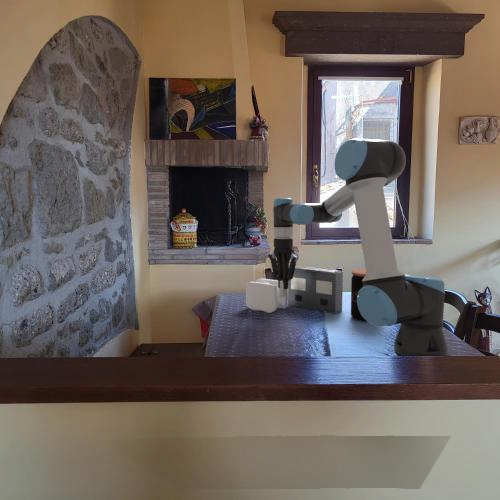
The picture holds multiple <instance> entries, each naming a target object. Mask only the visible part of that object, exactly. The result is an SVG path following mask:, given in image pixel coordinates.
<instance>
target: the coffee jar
mask: <svg viewBox="0 0 500 500" xmlns="http://www.w3.org/2000/svg"><path fill="white" fill-rule="evenodd" d="M351 274H352V276H351V279H350V281H351V283H350V286H351V287H350V290H351V291H350V316H351V318H352V319H353V320H355V321H358V322H364V323H368V322H367V320H365V319H364V318H363V316H362V315H361V313H360V311H359V308H358V305H357V295H359V294H358V292H359V290H360V289H361V288H362V287H363V282H362V280H363V279H364V277H365V276H366V274H367V273H366V268H365V269H362V268H359V269H353V270H352V271H351Z"/></svg>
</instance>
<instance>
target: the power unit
mask: <svg viewBox="0 0 500 500" xmlns="http://www.w3.org/2000/svg"><path fill="white" fill-rule="evenodd" d="M343 273H344V271H343V270H342V271H341V270H339V269H338V270H337V269H331V268H330V269H328V268H320V267H310V266H303V265H302V266H301V265H296V266H295V270H294V275H293V279H291V280H289V281H288V289H287V306H288V307H289V306H290V307H295V308H300V309H301V308H302V309H307V310H313V311H318V312H324V313H329V314H337V313H340V312H342V311H343V281H344V278H343V277H344V275H343Z"/></svg>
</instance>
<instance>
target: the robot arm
mask: <svg viewBox="0 0 500 500" xmlns="http://www.w3.org/2000/svg"><path fill="white" fill-rule="evenodd" d="M334 158H335V159H334V172H335V174H336V176H337V177H338V178H339V179H341V180H342V181H345V184H344V185H343V186H342V187H340V188H339V189H338V190H337V191H335V192H334V193H333V194H332V195H330V196H329V197H328V198H326V199H325V200H324V201H323V202H316V203H315V202H313V203H294V200H293V198H292V197H279V198H278V197H276V198H274V200H273V207H272V211H273V214H272V216H273V237H274V238H273V251H272V253H269V254H268V258H269V260H270V265H271V270H272V274H273V278H274V279H275V280H278V287H279V288H280V297H282V298H283V297H286V296H287V297H288V281H289V280H291V279H293V275H294V270H295V266H297V265H296V264H297V261H298V260H299V258H300V257H299V256H298V255H295V254H294V251H293V247H294V239H293V236H294V234H293V233H294V232H293V231H294V224H295V225H299V226H301V225H303V226H304V225H309V224H331V223H337V222H339V221H340V220H341V219H342V216H343V214H344V212H346V211H347V210H348V209H350V208H351V207H353V206H354V207H355V212H356V219H357V224H358V231H359V235H360V242H361V247H362V248H361V249H362V255H363V260H364V261H363V262H364V267H365V269H366V273H367V274H366V276H365V277H364V279H363V280H362V282H363V287H362V288H361V289H360V290H359V292H358V294H359V295H357V305H358V308H359V311H360V313H361V315H362V316H363V318H364V319H365V320H367V322H366V323H368V324H370V326H371V325H372V326H375V327H378V328H379V327H380V328H381V327H391V326H393V325H398V324H400V327H399V329H398V331H397V334H396V337H395V340H394V342H393V343H394V345H393V346H394V347H393V349H394V350H393V351H394V352H395V353H396V352H397V354H398V355H400V356H401V357H404V356H447V357H448V356H449V345H448V342H447V339H446V336H445V332H444V313H445V310H444V309H445V295H446V292H445V291H446V289H445V282H444V280H443V279H440V278H438V277H434V276H429V275H422V274H421V275H420V274H413V273H412V274H410V273H406V274H405V273H403V272H402V271H400V270H399V269H398V263H397V257H396V253H395V248H394V242H393V236H392V229H391V224H390V219H389V214H388V209H387V208H388V207H387V203H386V197H385V192H384V187H386V186H388V185H389V184H391V183H392V182H394V181H395V180H397V178H399V177H400V176H401V175H402V174H403V172H404V170H405V167H406V163H407V162H406V161H407V158H406V154H405V151H404V148H402V147H401V145H399V144H398V143H397V142H395V141H393V140H390V139H371V138H370V139H369V138H362V137H359V138H351V139H347V140H346V141H344V142H343V143H341V145H340V146H339V148H338V149H337V153H336V154H335V157H334Z"/></svg>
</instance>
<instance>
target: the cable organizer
mask: <svg viewBox="0 0 500 500" xmlns="http://www.w3.org/2000/svg"><path fill="white" fill-rule="evenodd" d="M245 305H246V307H247V308H248V309H251V311H257V312H259V311H262V312H264V313H268V314H272V313H273V312H275V311H277V310H278V309H282V308H285V307H286V306H288V295H287V296H286V297H283V298H282V297H280V288H279V287H278V279H268V278H258V279H256V280H255V281H248V282H247V283H245Z"/></svg>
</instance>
